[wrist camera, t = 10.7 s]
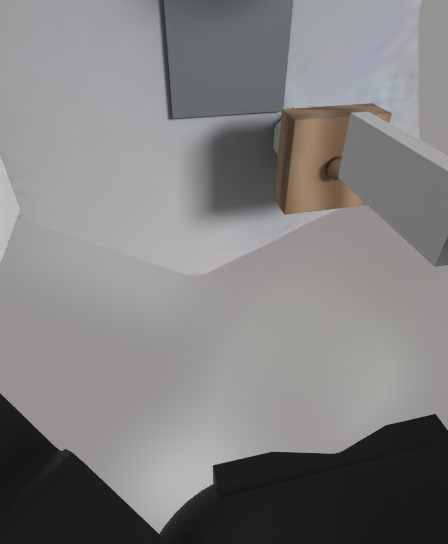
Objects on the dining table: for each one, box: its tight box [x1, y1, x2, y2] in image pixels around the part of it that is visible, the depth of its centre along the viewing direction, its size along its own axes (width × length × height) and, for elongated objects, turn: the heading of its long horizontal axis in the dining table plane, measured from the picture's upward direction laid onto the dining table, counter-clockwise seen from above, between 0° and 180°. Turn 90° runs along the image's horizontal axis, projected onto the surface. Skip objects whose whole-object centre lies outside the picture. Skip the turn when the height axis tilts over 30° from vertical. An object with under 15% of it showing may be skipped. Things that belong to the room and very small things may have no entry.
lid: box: [274, 104, 392, 214], centre depth 45 cm, size 11×11×5 cm
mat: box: [163, 0, 293, 118], centre depth 44 cm, size 14×13×1 cm
